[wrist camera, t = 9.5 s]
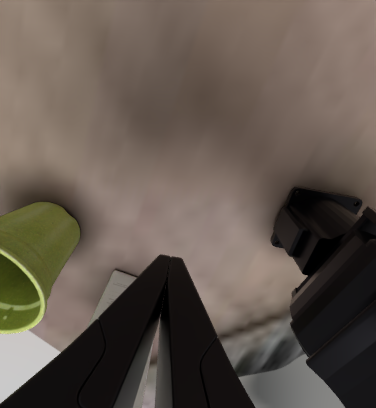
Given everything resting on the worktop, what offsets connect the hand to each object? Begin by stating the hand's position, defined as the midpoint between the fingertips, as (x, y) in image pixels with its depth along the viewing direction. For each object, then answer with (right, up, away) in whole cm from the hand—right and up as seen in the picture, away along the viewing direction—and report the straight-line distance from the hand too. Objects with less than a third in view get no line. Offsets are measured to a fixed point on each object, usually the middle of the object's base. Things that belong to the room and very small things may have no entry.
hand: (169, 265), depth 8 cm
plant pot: (-14, 0, +15) cm, 21 cm away
